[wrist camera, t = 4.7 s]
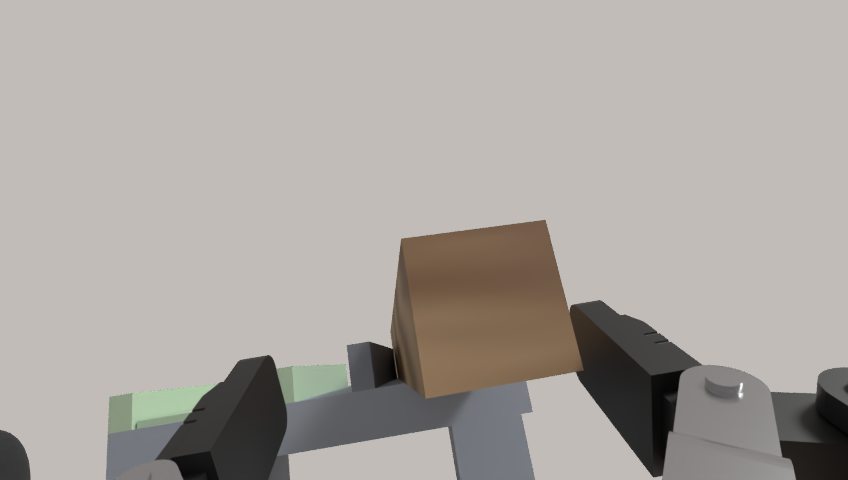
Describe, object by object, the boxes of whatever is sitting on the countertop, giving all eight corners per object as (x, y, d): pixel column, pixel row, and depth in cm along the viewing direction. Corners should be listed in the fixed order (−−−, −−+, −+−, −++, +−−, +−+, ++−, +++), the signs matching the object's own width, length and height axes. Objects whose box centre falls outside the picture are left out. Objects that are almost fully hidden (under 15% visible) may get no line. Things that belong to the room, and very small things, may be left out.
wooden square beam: (583, 370, 9) (545, 220, 10) (425, 398, 9) (401, 238, 10) (439, 369, 34) (432, 325, 35) (396, 376, 34) (390, 332, 35)
